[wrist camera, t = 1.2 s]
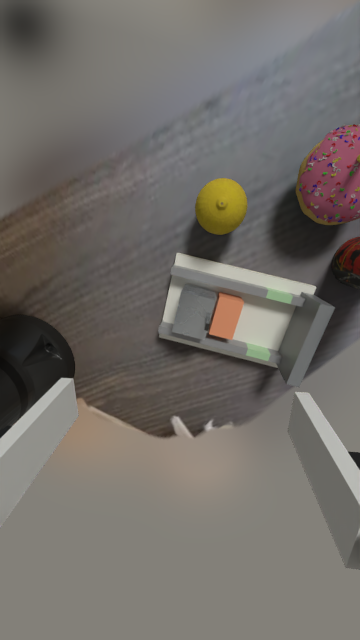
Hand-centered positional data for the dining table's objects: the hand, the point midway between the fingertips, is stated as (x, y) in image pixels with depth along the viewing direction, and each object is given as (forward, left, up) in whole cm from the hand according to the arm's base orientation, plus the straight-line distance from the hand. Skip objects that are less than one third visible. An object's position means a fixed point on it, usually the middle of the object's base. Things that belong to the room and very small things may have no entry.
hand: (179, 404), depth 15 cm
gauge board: (+4, +1, -22) cm, 22 cm away
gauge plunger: (-1, +1, -20) cm, 20 cm away
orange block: (+3, +1, -20) cm, 21 cm away
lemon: (-1, +13, -22) cm, 25 cm away
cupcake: (+10, +18, -22) cm, 30 cm away
